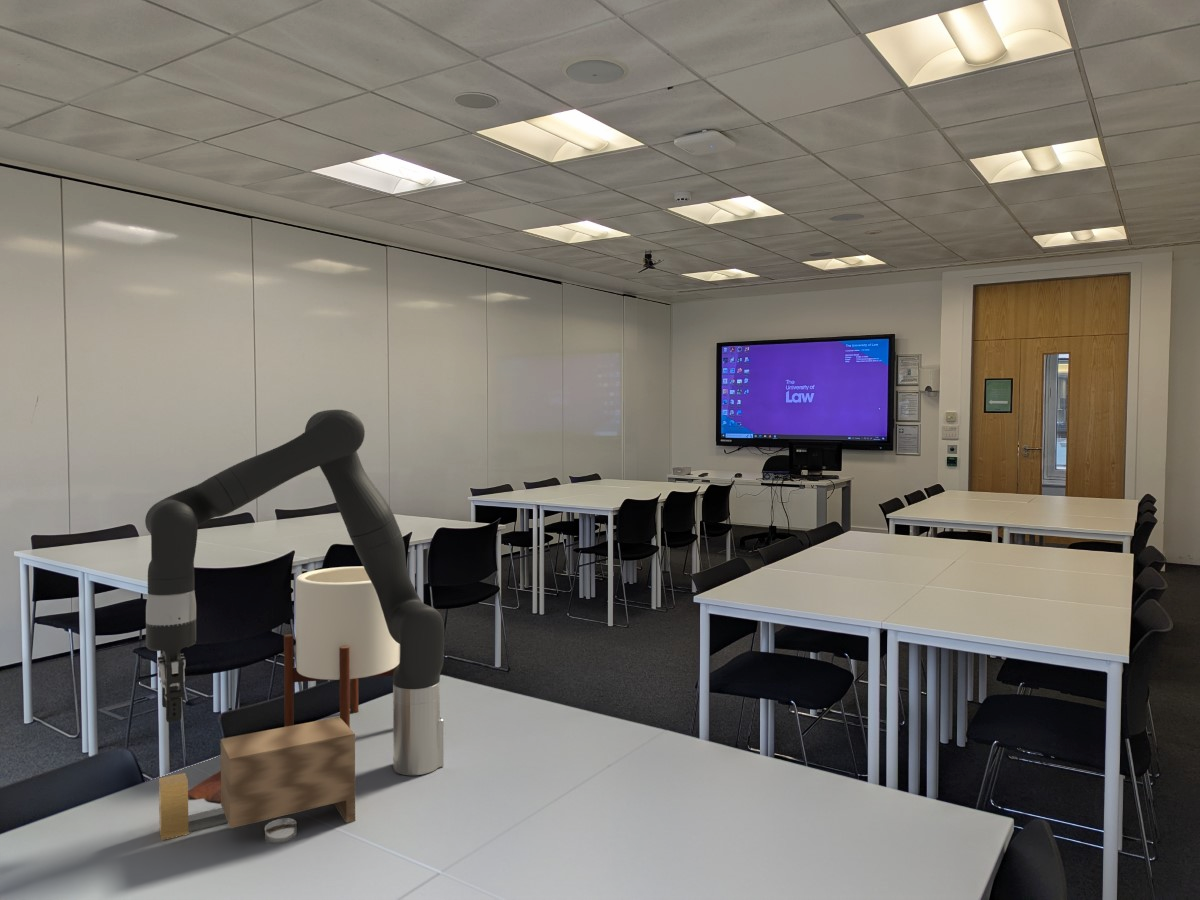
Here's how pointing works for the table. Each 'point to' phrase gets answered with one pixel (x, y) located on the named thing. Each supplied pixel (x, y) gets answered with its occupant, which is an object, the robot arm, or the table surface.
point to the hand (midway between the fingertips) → (171, 713)
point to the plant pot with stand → (337, 636)
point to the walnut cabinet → (288, 771)
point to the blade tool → (182, 809)
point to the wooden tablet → (207, 789)
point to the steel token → (280, 830)
